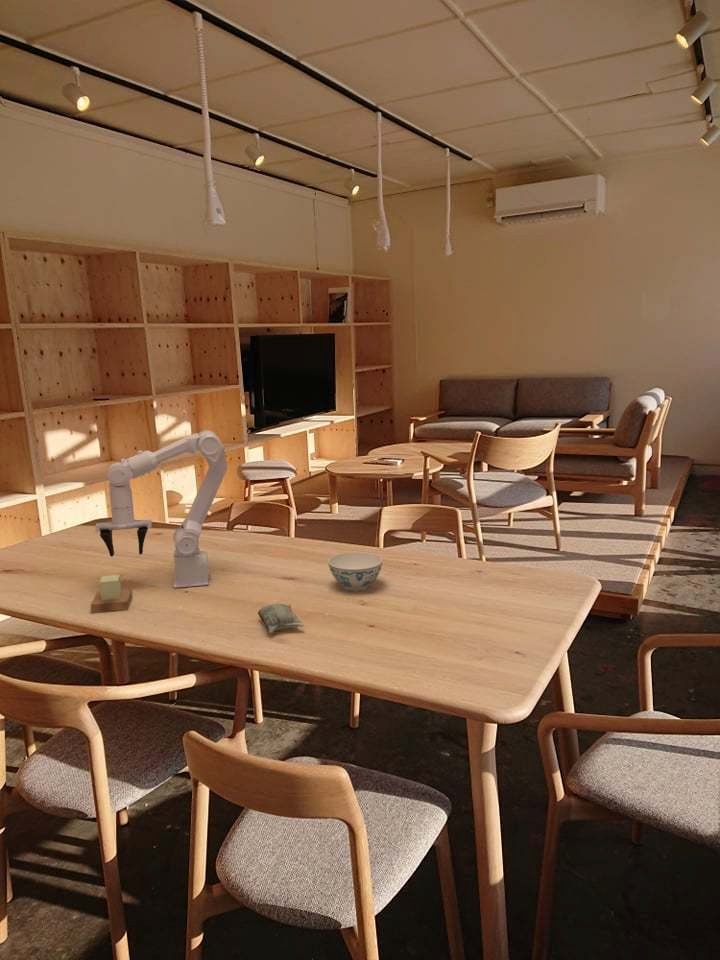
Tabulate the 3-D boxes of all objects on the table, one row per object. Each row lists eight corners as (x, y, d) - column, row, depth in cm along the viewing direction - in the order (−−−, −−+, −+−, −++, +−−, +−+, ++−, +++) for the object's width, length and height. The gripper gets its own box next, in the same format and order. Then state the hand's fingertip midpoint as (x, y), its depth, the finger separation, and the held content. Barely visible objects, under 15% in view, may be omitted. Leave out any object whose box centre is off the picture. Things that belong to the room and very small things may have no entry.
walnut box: (132, 599, 189) (131, 589, 189) (128, 612, 181) (127, 601, 180) (98, 602, 188) (97, 592, 187) (91, 615, 179) (90, 604, 179)
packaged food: (291, 614, 175) (290, 596, 174) (304, 633, 165) (303, 613, 163) (257, 620, 173) (256, 602, 172) (268, 640, 162) (266, 620, 161)
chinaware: (320, 583, 197) (319, 557, 195) (367, 574, 203) (366, 548, 202) (343, 600, 184) (342, 572, 182) (393, 590, 190) (392, 563, 189)
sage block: (121, 592, 187) (119, 574, 185) (119, 598, 182) (117, 580, 181) (103, 594, 186) (101, 576, 184) (101, 600, 181) (99, 582, 180)
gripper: (91, 512, 185) (96, 560, 188) (147, 508, 188) (152, 556, 191) (96, 505, 192) (101, 553, 195) (150, 502, 195) (154, 549, 197)
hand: (126, 554), depth 193 cm, fingers open, 7 cm apart
